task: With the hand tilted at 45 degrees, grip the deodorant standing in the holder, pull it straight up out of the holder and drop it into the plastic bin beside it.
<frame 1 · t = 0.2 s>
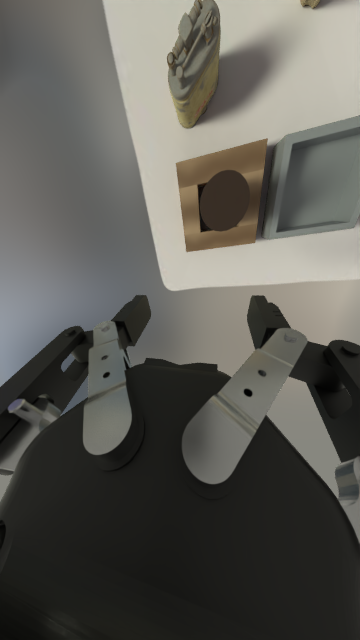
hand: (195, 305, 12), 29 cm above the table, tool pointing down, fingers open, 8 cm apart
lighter: (197, 99, 23), on the table
deodorant: (218, 207, 30), resting in holder
holder: (218, 206, 30), on the table
bin: (306, 190, 27), on the table
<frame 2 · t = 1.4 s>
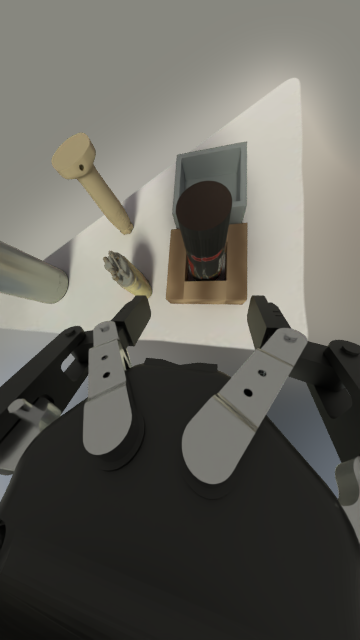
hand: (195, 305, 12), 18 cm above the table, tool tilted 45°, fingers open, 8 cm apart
handle: (128, 229, 36), on the table
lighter: (141, 285, 33), on the table
deodorant: (206, 270, 30), resting in holder
holder: (206, 270, 30), on the table
bin: (209, 202, 32), on the table
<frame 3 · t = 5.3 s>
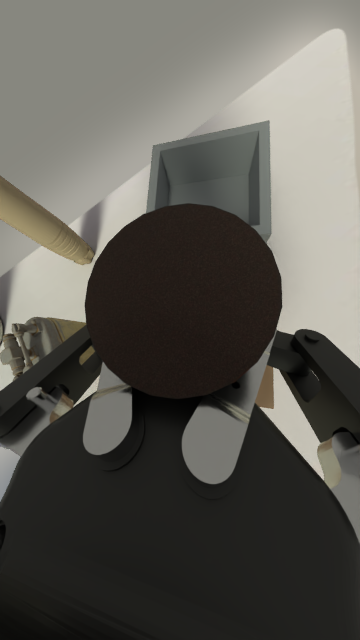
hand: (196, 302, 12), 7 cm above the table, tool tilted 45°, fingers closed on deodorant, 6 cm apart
handle: (87, 257, 24), on the table
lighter: (103, 345, 22), on the table
deodorant: (200, 329, 19), resting in holder, touching gripper
holder: (200, 329, 19), on the table
bin: (205, 220, 21), on the table
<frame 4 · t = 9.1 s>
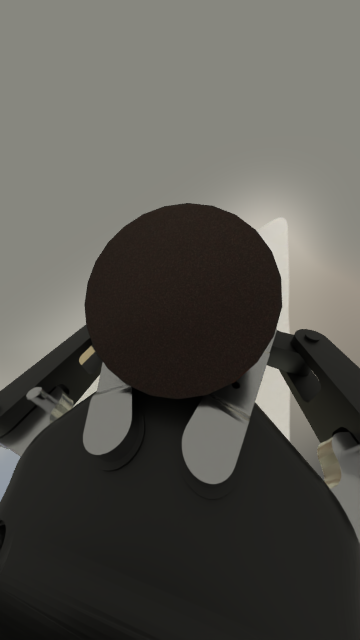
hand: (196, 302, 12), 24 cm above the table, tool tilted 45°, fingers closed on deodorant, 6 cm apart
handle: (131, 346, 39), on the table
deodorant: (200, 329, 19), point 17 cm above the table, touching gripper
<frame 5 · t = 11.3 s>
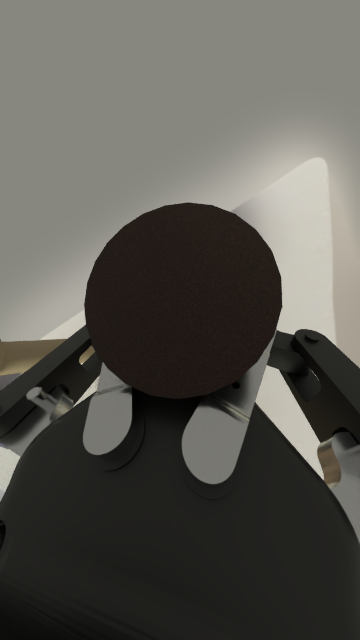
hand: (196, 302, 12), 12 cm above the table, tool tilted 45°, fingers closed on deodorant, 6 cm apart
handle: (94, 350, 27), on the table
deodorant: (200, 329, 19), point 4 cm above the table, touching gripper
when the fingers open (10 cm above the table, at t = 12.8 s): deodorant drops 1 cm, resting on bin.
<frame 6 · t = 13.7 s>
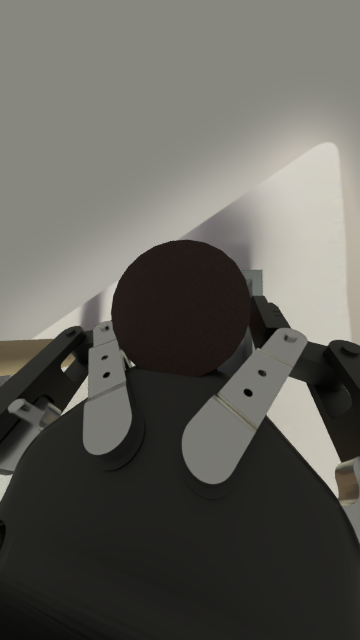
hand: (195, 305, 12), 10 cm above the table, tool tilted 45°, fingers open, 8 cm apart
handle: (87, 351, 25), on the table
deodorant: (201, 331, 21), point 1 cm above the table, touching bin
bin: (202, 329, 22), on the table
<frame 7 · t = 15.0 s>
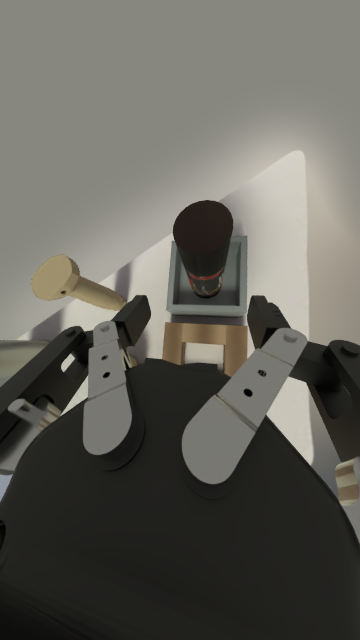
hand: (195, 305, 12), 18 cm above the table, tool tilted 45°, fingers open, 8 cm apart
handle: (120, 304, 34), on the table
deodorant: (206, 284, 29), point 1 cm above the table, touching bin
holder: (203, 362, 28), on the table
bin: (206, 284, 30), on the table
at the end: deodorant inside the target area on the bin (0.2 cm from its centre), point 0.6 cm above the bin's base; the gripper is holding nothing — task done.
